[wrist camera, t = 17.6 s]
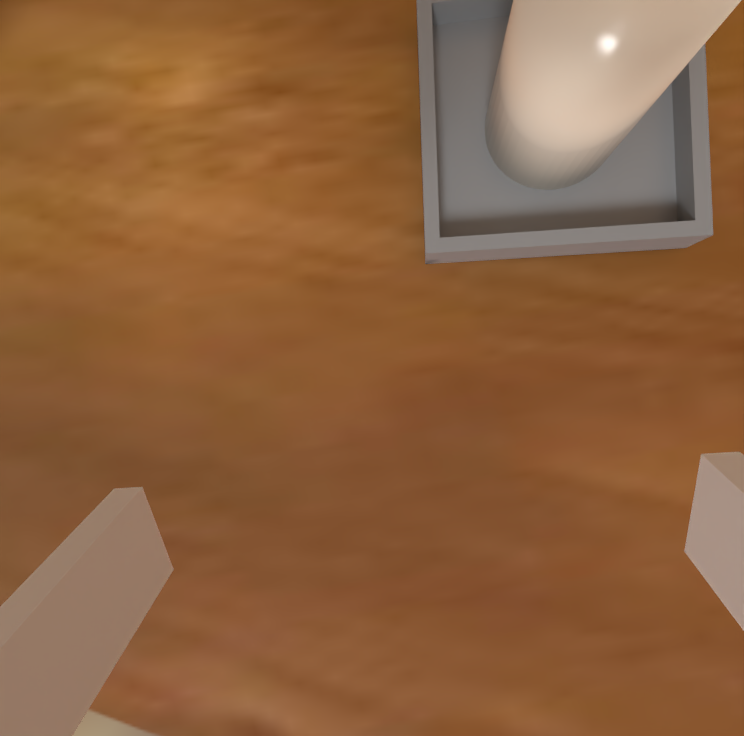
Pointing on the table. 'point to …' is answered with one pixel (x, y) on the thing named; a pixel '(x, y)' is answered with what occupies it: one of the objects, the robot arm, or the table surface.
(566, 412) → the table surface
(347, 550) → the table surface
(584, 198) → the slate tray
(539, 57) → the white pitcher
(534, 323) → the table surface
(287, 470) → the table surface
